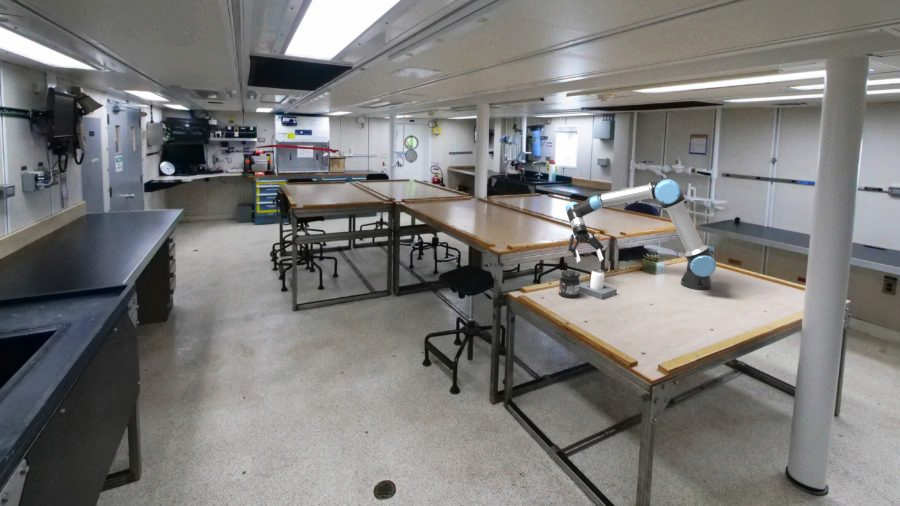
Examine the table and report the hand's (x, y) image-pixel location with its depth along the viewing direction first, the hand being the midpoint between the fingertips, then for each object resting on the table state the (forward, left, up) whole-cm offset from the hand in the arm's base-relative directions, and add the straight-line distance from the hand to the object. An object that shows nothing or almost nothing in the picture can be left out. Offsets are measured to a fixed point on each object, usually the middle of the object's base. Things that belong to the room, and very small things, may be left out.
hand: (590, 261), depth 249 cm
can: (-7, +3, -15) cm, 17 cm away
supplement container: (-1, +18, -15) cm, 24 cm away
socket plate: (-7, +3, -15) cm, 17 cm away
